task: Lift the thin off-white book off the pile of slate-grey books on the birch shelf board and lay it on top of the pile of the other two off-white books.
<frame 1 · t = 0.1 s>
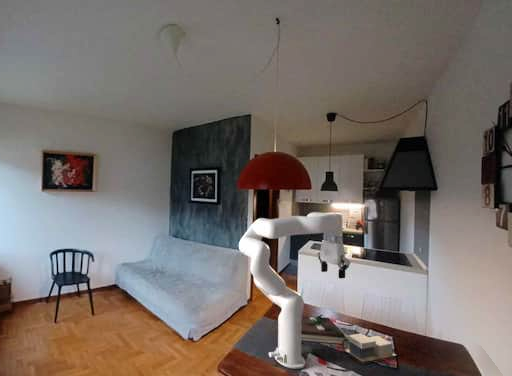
hand: (332, 274, 124), 37 cm above the table, tool pointing down, fingers open, 9 cm apart
white book 2: (378, 345, 122), point 4 cm above the table, touching white book 1
white book 1: (378, 350, 122), point 1 cm above the table, touching shelf board, white book 2
grey book 2: (361, 348, 120), point 4 cm above the table, touching grey book 1, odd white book
grey book 1: (361, 353, 120), point 1 cm above the table, touching grey book 2, shelf board
decorative book: (310, 336, 137), on the table
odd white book: (361, 343, 120), point 6 cm above the table, touching grey book 2
shelf board: (370, 355, 121), on the table
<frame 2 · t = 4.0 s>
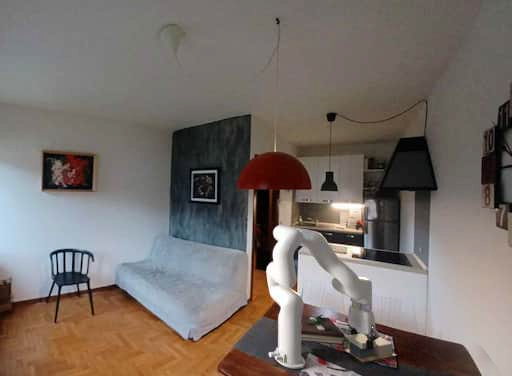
hand: (361, 343, 120), 6 cm above the table, tool pointing down, fingers closed on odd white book, 6 cm apart
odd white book: (361, 343, 120), point 6 cm above the table, touching grey book 2, gripper
everything else where it was.
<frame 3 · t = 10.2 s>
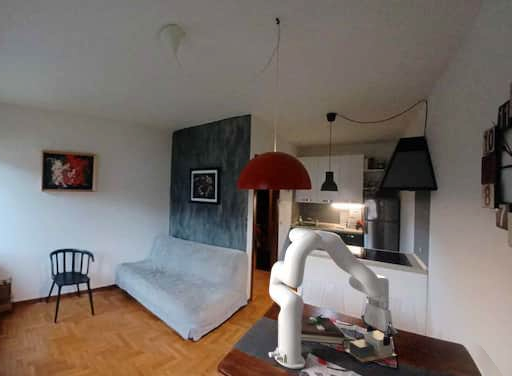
hand: (378, 340, 122), 6 cm above the table, tool pointing down, fingers closed on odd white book, 6 cm apart
grey book 2: (361, 348, 120), point 4 cm above the table, touching grey book 1
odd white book: (378, 340, 122), point 6 cm above the table, touching gripper
everything else where it was.
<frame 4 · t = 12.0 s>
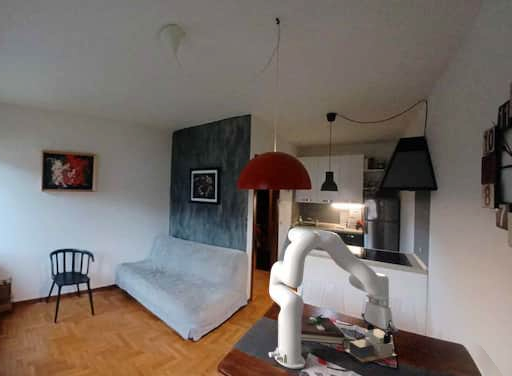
hand: (378, 338, 122), 7 cm above the table, tool pointing down, fingers closed on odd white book, 6 cm apart
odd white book: (378, 338, 122), point 7 cm above the table, touching gripper
everything else where it was.
when the fingers open (7 cm above the table, at t = 19.8 s): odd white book drops 1 cm, resting on white book 2.
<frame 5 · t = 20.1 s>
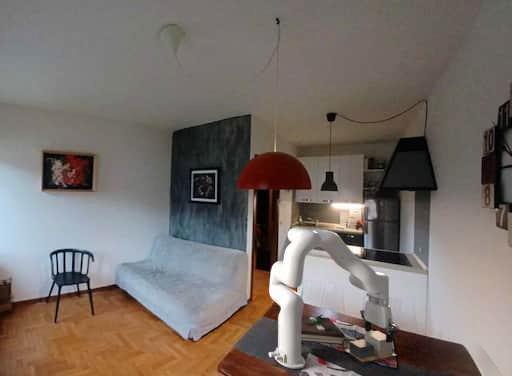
hand: (378, 336, 122), 8 cm above the table, tool pointing down, fingers open, 9 cm apart
white book 2: (378, 345, 122), point 4 cm above the table, touching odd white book, white book 1
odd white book: (378, 340, 122), point 6 cm above the table, touching white book 2
everything else where it was.
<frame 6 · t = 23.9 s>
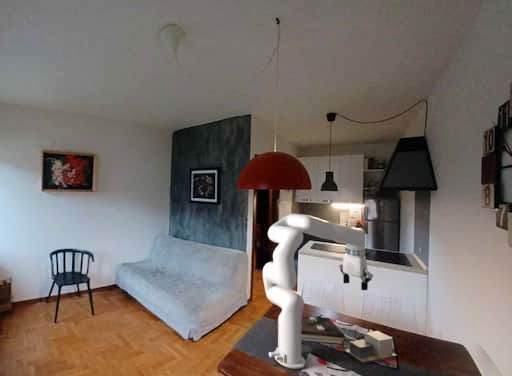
hand: (355, 286, 132), 28 cm above the table, tool pointing down, fingers open, 9 cm apart
nothing on the table moved.
at the end: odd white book 0.0 cm off-centre on the white book 2, point 2.4 cm above the white book 2's base; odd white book tilted 0°; grey book 2 moved 0.0 cm from its start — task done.
